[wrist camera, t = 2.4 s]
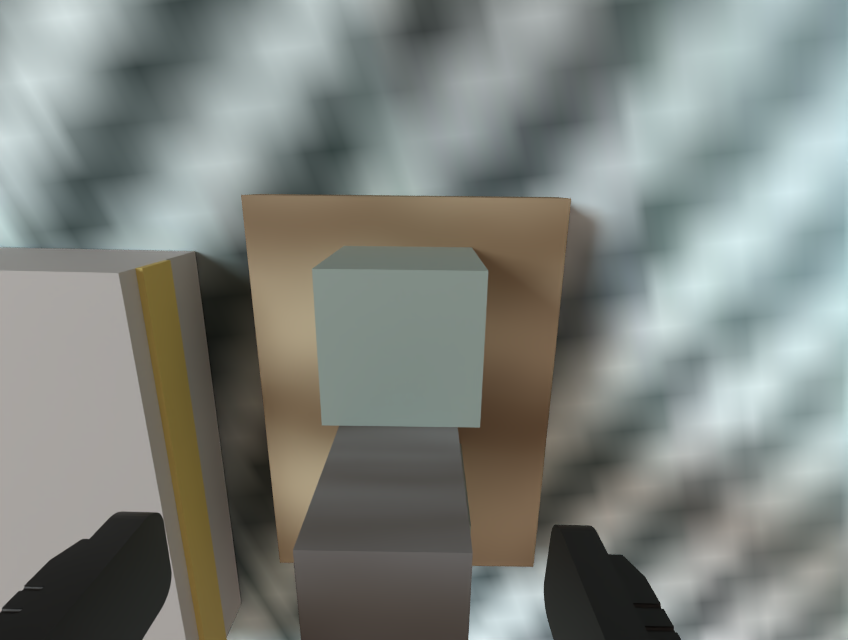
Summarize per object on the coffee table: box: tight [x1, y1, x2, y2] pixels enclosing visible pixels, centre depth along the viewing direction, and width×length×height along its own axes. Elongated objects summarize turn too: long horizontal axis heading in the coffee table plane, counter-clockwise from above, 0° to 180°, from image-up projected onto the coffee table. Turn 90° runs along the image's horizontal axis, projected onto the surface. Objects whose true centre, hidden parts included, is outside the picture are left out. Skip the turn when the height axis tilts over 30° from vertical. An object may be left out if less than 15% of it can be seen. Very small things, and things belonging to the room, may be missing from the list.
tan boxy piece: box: [241, 194, 571, 640], centre depth 13 cm, size 14×10×10 cm
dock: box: [0, 247, 241, 640], centre depth 16 cm, size 12×16×4 cm
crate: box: [312, 246, 488, 428], centre depth 13 cm, size 4×4×4 cm
